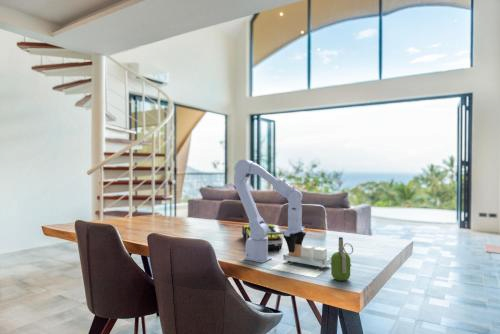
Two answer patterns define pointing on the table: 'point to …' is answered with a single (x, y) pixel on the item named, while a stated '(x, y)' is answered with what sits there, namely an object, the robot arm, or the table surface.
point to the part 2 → (319, 254)
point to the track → (297, 270)
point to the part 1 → (307, 252)
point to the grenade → (341, 263)
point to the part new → (296, 251)
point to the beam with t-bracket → (307, 261)
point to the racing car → (273, 236)
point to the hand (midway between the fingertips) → (294, 250)
